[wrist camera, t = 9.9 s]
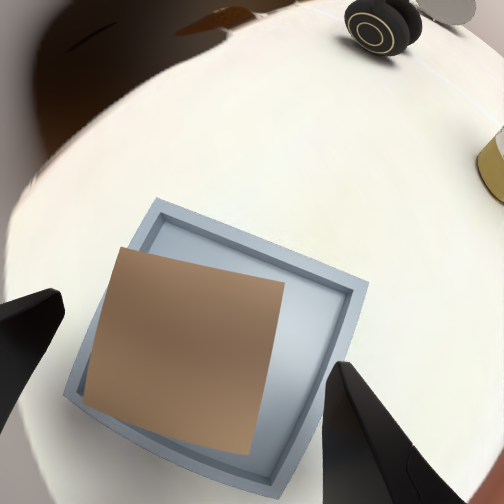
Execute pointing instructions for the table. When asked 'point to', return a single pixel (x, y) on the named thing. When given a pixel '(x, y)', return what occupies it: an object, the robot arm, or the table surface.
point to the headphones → (383, 25)
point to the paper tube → (493, 165)
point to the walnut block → (184, 349)
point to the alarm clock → (449, 10)
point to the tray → (283, 353)
